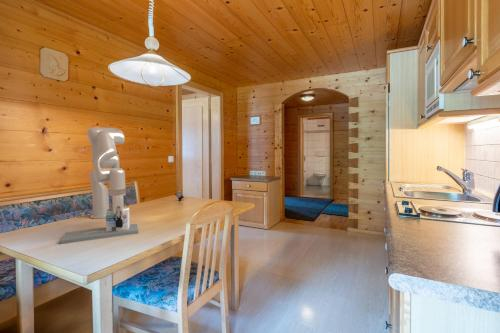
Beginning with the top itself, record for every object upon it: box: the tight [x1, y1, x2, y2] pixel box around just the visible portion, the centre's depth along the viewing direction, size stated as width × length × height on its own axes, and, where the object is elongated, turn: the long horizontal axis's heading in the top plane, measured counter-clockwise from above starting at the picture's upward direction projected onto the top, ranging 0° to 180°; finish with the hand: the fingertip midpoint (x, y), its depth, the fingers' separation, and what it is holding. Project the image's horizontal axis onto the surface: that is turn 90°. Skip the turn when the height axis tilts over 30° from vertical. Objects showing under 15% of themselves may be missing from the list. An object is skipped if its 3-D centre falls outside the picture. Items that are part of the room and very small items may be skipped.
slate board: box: [59, 223, 139, 245], centre depth 138 cm, size 14×34×2 cm, turn 116°
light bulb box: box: [105, 207, 131, 232], centre depth 141 cm, size 11×7×11 cm, turn 108°
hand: (119, 224), depth 141 cm, fingers closed on light bulb box, 7 cm apart
